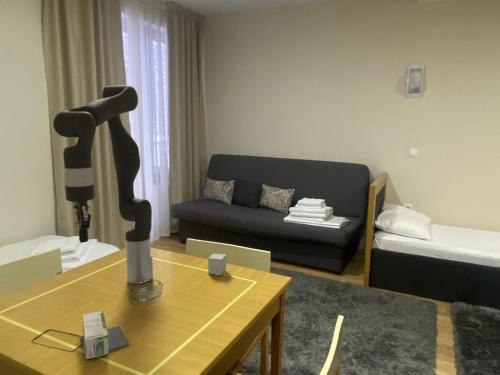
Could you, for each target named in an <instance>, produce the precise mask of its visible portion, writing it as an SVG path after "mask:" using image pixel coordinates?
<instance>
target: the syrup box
mask: <svg viewBox="0 0 500 375" xmlns="http://www.w3.org/2000/svg"><path fill="white" fill-rule="evenodd" d="M82 329H83V330H82V331H83V336H84V345H85V352H84V354H85V360H88V359H93V358H98V357H101V356H106V355H109V352H108V332H107V329H108V328H107V323H106V317H105V314H104V310H99V311H95V312H89V313H85V314H82Z"/></svg>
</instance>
